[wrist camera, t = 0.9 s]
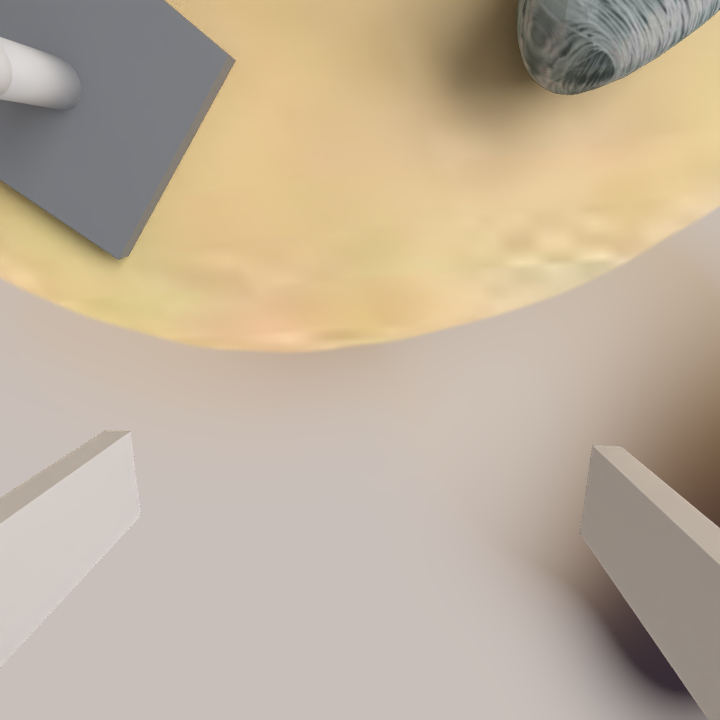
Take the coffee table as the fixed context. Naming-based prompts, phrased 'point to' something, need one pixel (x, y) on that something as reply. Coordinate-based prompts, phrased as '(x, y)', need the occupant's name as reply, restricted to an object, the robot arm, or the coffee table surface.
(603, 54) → the grey rounded piece
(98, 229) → the hub plate
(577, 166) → the coffee table surface
